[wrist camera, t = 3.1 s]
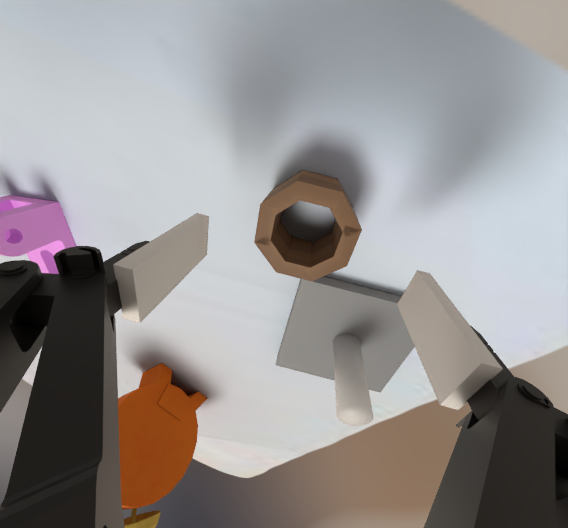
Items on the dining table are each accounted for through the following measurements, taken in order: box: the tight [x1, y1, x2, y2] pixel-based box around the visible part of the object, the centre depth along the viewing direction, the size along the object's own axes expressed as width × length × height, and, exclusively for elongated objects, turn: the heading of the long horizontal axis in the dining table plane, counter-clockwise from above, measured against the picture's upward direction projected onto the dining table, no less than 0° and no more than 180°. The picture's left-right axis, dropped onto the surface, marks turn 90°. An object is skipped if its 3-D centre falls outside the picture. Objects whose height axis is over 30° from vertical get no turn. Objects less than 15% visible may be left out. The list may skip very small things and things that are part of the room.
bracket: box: [0, 195, 76, 274], centre depth 25 cm, size 13×6×7 cm, turn 175°
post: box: [276, 276, 415, 426], centre depth 24 cm, size 14×14×10 cm
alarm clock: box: [118, 363, 207, 528], centre depth 31 cm, size 13×6×20 cm, turn 37°
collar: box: [254, 170, 362, 281], centre depth 20 cm, size 7×7×5 cm
